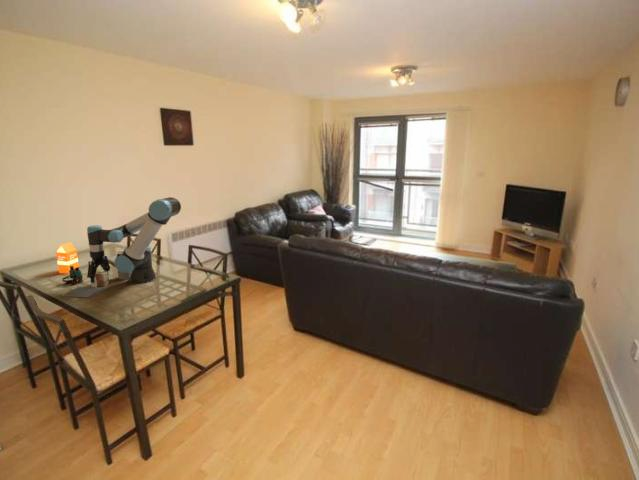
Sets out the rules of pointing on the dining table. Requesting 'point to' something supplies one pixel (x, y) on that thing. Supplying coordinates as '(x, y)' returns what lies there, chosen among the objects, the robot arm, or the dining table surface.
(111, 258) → the tablet
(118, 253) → the travel mug
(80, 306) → the dining table surface
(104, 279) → the wooden block
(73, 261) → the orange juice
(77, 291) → the mat
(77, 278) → the binoculars
